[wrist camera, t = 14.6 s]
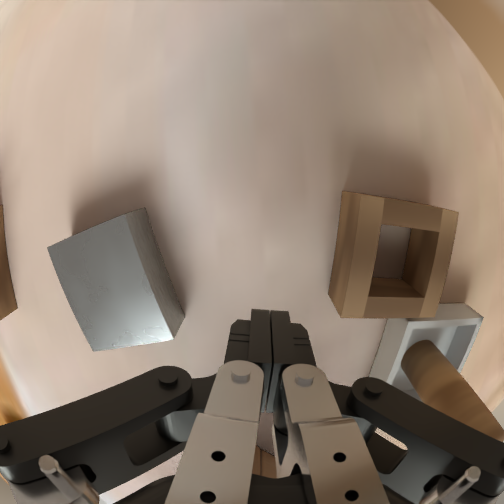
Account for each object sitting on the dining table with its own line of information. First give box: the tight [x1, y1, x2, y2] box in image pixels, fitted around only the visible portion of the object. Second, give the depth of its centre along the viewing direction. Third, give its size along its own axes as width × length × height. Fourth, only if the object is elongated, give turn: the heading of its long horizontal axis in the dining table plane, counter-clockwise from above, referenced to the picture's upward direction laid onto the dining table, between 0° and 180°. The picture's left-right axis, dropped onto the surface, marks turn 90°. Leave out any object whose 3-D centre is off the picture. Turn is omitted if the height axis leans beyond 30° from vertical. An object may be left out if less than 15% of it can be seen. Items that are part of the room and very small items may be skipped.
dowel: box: [401, 340, 504, 442], centre depth 12 cm, size 3×3×10 cm
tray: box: [369, 303, 484, 402], centre depth 16 cm, size 8×7×2 cm
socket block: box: [328, 191, 459, 318], centre depth 14 cm, size 6×6×3 cm
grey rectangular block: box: [47, 208, 185, 351], centre depth 15 cm, size 7×6×3 cm
